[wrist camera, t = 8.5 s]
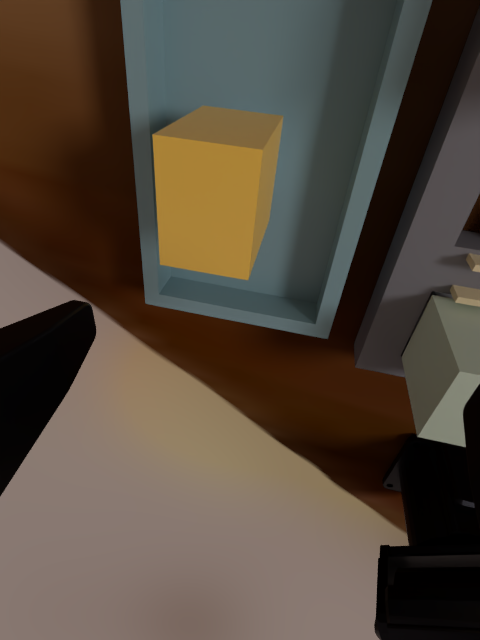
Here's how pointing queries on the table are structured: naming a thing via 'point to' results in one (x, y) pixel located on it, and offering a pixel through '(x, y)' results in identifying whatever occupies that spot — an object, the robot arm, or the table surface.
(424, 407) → the block
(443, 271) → the block
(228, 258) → the block
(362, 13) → the parts tray
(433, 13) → the table surface
